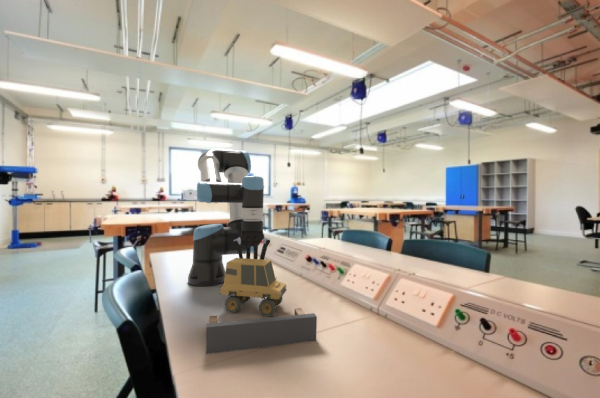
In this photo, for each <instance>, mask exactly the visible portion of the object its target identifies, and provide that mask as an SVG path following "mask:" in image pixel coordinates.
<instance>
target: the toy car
mask: <svg viewBox="0 0 600 398" xmlns="http://www.w3.org/2000/svg"><path fill="white" fill-rule="evenodd" d="M222 284H223V285H222V286H221V287H220V289H219V290H220V292H219V295H227V298H226V299H225V301H224V302H225V303H224V307H225V310H226V311H227V312H228V313H232V314H234V313H237V312H239V311H240V309H241V308H242V304H247V302H248V301H250V299H251V298H260V299H261V301H260V303H259V305H258V311H259V313H260V314H261V315H262V316H264V317H272V316H273V314H274V313H275V312H276V310H277V307H278V306H279V305H281V303H282V302H283V296H284V295H285V293H286V292H287V284H286V283H284V282H282V281H279V280H277V277H276V274H275V271H274V266H273V262H272V260H271V259H264V260H262V259H260V258H258V259H253V258H250V259H246V257H245V258H244V257H243V258H239V257H235V258H232V259H231V260H229V261H227V262H226V266H225V279H224V282H223V283H222ZM265 297H266V298H265Z"/></svg>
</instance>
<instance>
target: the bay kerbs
mask: <svg viewBox="0 0 600 398" xmlns="http://www.w3.org/2000/svg"><path fill="white" fill-rule="evenodd" d="M301 314H306V313H305V312H304V310H303V309H302V307H296V308H295V307H294V314H293V315H301ZM208 318H209V319H208V323H217V322H218V314H217V315H209V317H208Z"/></svg>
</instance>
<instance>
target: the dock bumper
mask: <svg viewBox="0 0 600 398" xmlns="http://www.w3.org/2000/svg"><path fill="white" fill-rule="evenodd" d="M317 319H318V318H317V315H316V314H315V313H314V312H312V313H305V314H301V315H294V314H293V315H282V316H273V317H272V316H269V317H261V318H250V319H240V320H231V321H230V320H228V321H220V322H219V321H217V323H209V322H208V323H206V333H205V335H206V337H205V339H206V340H205V355H207V354H208V355H209V354H218V353H225V352H235V351H243V350H249V349H259V348H268V347H275V346H282V345H292V344H299V343H308V342H314V341H315V342H316V341H317V328H318V327H317V324H318V321H317Z"/></svg>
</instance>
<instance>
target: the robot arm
mask: <svg viewBox="0 0 600 398" xmlns="http://www.w3.org/2000/svg"><path fill="white" fill-rule="evenodd" d="M251 162H252V161H251V156H250V154H249V153H248V152H247V151H246V150H241V149H238V150H237V149H234V150H233V149H225V148H211V149H209V150H206V151H205V152H203V153H202V154H201V155H200V156H199V157H198V161H197V167H198V170H199V171H200V178H201V181H198V182H197V184H196V201H198V202H199V203H207V204H209V203H210V204H211V203H212V204H214V203H216V204H217V203H222V204H223V203H228V206H229V209H228V211H229V221H228V222H227V223H226V227H225V226H224V225H223V223H212V224H205V225H201V226H198V227H197V226H196V227H195V228H194V230H193V238H192V244H193V249H192V265H191V268H190V271H189V273H188V277H187V278H188V279H187V283H188V285H191V286H195V287H197V286H198V287H210V286H211V287H212V286H216V285H221V284H224V279H225V272H226V268H225V266H224V263H223V256H225V255H228V256H229V255H238V258H244V256H243V255H245V258H246V259H251V254H252V253H253V258H252V259H262V260H265V259H266V258H265V257H266V253H267V250H268V246H269V245H270V243H271V240H270V238H267V237H265V234H264V221H263V219H264V189H265V183H264V178H263V177H262V176H256V175H249V174H250V173H251V169H252V164H251ZM220 173H223V176H224V178H226V179H227V182H222V178H221V174H220ZM248 175H249V176H248ZM261 243H263V245H262V246H261V247H262V249H261V252H260V254H259V255H258V252H259V246H260V244H261ZM258 256H259V258H258Z"/></svg>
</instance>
